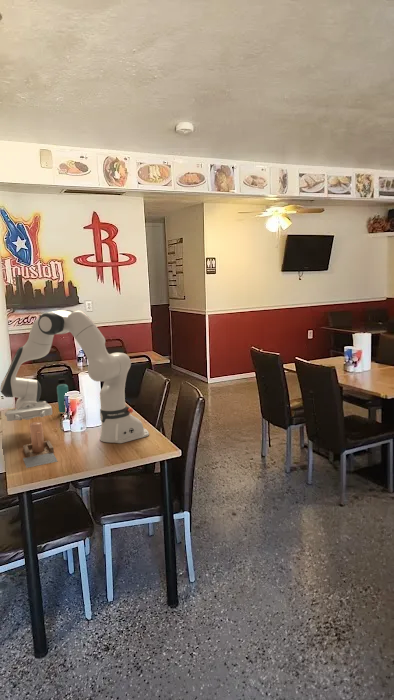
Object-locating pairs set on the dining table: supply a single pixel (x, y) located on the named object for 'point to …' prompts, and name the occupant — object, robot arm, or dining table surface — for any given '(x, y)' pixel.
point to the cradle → (29, 453)
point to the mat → (39, 460)
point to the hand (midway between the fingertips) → (31, 417)
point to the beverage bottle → (61, 394)
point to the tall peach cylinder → (37, 437)
